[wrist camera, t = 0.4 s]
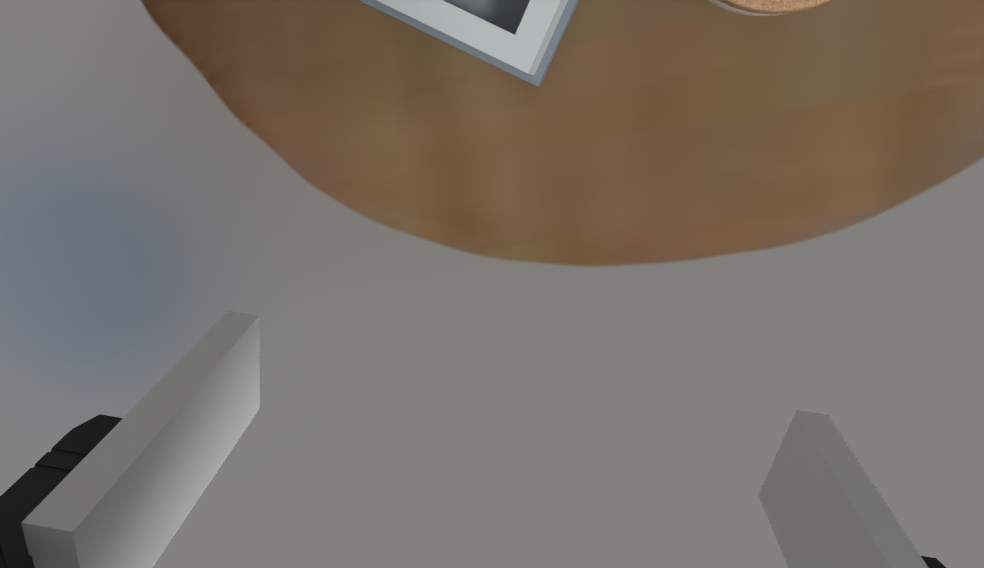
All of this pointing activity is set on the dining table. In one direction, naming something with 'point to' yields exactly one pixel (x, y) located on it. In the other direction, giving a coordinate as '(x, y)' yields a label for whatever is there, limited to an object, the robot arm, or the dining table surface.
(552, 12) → the light grey square tray
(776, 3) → the lidded jar
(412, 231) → the dining table surface
